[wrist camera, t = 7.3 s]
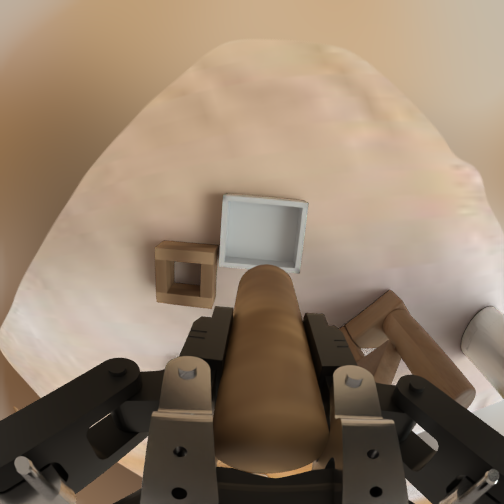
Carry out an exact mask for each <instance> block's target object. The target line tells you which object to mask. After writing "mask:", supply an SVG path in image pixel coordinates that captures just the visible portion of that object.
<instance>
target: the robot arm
mask: <svg viewBox="0 0 504 504" xmlns="http://www.w3.org/2000/svg"><path fill="white" fill-rule="evenodd" d="M232 321H233V308H230V307H219V306H215V309H214V312H213V315H212V318H211V317H200V318H199V319H197V320H196V321H195V322H194V323H193V325H192V328H191V331H190V332H189V335H188V337H187V339H186V342H185V344H184V346H183V349H182V351H181V353H180V356H179V357H177V358H174V359H172V360H171V361H169V362H168V363H167V365H166V367H165V369H164V370H161V371H148V372H140V370H139V367H138V365H137V364H136V363H135V362H134V361H132V360H129V359H126V358H113V359H109V360H107V361H105V362H103V363H101V364H99V365H98V366H96V367H94V368H93V369H91V370H89V371H87V372H86V373H84V374H82V375H81V376H79V377H77V378H75V379H74V380H72V381H70V382H69V383H67V384H65V385H63V386H62V387H60V388H58V389H56V390H55V391H53V392H51V393H49V394H48V395H46V396H44V397H42V398H41V399H39V400H37V401H35V402H34V403H32V404H30V405H28V406H26V407H25V408H23V409H21V410H19V411H17V412H16V413H14V414H12V415H10V416H8V417H7V418H5V419H3V420H1V421H0V504H76V496H75V494H76V493H78V492H79V491H80V490H82V489H83V488H84V487H86V486H87V485H88V484H90V483H91V482H92V481H94V480H95V479H96V478H97V477H99V476H100V475H101V474H103V473H104V472H105V471H106V470H107V469H109V468H110V467H111V466H112V465H114V464H115V463H116V462H118V461H119V460H120V459H121V458H122V457H124V456H125V455H126V454H127V453H129V452H130V451H131V450H132V449H133V448H134V447H136V446H137V445H138V444H139V443H140V442H142V441H143V440H144V439H145V438H146V437H147V436H148V441H147V448H146V456H145V463H144V472H143V481H142V488H141V489H139V490H138V491H136V492H134V493H132V494H130V495H129V496H127V497H125V498H123V499H121V500H119V501H118V502H115V503H113V504H414V503H413V502H411V501H409V500H408V493H407V486H406V479H407V480H408V481H409V482H410V483H411V484H412V485H413V486H414V487H415V488H416V489H417V490H418V491H419V492H420V493H422V494H423V495H424V496H425V497H426V498H427V499H428V500H429V501H430V502H431V503H432V504H504V436H502V435H501V434H499V433H498V432H497V431H496V430H494V429H493V428H491V427H490V426H489V425H487V424H486V423H484V422H483V421H482V420H481V419H479V418H478V417H477V416H475V415H474V414H473V413H471V412H470V411H468V410H467V409H466V408H464V407H463V406H462V405H460V404H459V403H458V402H456V401H455V400H454V399H452V398H451V397H450V396H448V395H447V394H445V393H444V392H443V391H441V390H440V389H439V388H437V387H436V386H435V385H433V384H432V383H431V382H429V381H428V380H426V379H425V378H423V377H420V376H417V375H405V376H403V377H401V378H400V379H399V381H398V383H397V385H396V386H395V385H388V384H381V383H377V382H375V380H374V377H373V375H372V374H371V373H370V372H369V371H368V370H366V369H364V368H362V367H359V366H358V365H357V363H356V361H355V358H354V356H353V354H352V352H351V350H350V348H349V345H348V343H347V341H346V339H345V337H344V334H343V332H341V331H340V330H339V329H338V328H337V327H336V326H328V324H327V321H326V319H325V316H324V314H314V313H305V316H304V320H303V324H304V328H305V332H306V336H307V340H308V344H309V348H310V352H311V356H312V360H313V364H314V368H315V372H316V377H317V381H318V385H319V389H320V393H321V398H322V402H323V406H324V411H325V415H326V420H327V424H328V429H329V438H328V441H327V444H326V446H325V448H324V450H323V452H322V454H321V456H320V457H319V458H318V459H317V460H315V461H314V462H313V464H312V471H308V472H304V473H300V474H296V475H291V476H287V477H282V478H269V477H265V476H260V475H256V474H252V473H248V472H245V471H241V470H238V469H234V468H224V467H216V463H215V449H214V434H213V414H214V409H215V404H216V399H217V394H218V389H219V384H220V380H221V377H222V374H223V368H224V363H225V358H226V352H227V347H228V342H229V336H230V331H231V326H232ZM461 349H462V352H463V353H464V354H465V355H466V356H467V358H468V359H469V360H470V361H471V362H472V363H473V364H474V365H475V366H476V368H477V369H478V370H479V371H480V372H481V373H482V374H483V375H484V377H485V378H486V379H487V380H488V381H489V382H490V383H491V385H492V386H493V387H494V388H495V389H496V390H497V392H498V393H499V394H500V395H501V396H502V398H503V399H504V314H503V313H501V312H500V311H499V310H497V309H496V308H494V307H486V308H484V309H483V310H481V311H480V312H479V313H478V314H477V315H476V316H475V317H474V318H473V319H472V321H471V322H470V323H469V325H468V327H467V328H466V330H465V332H464V335H463V338H462V342H461ZM109 413H111V414H109ZM108 414H109V415H108ZM106 415H108V416H107V417H105V416H106ZM103 417H105V418H104V419H102V418H103ZM101 419H102V420H101ZM99 420H101V421H100V422H98V421H99ZM96 422H98V423H97V424H95V423H96ZM416 423H417V424H418V425H419V426H421V427H422V428H423V429H424V430H425V431H426V432H428V433H429V434H430V435H431V436H432V437H434V438H435V439H436V440H437V442H438V445H439V448H438V451H435V450H433V449H432V448H431V447H430V446H429V445H428V444H426V443H425V442H424V441H423V440H422V439H421V438H420V437H418V436H417V435H416V434H415V433H414V432H413V431H412V429H413V428H414V426H415V425H416ZM93 424H95V425H94V426H92V425H93ZM91 426H92V427H91ZM90 427H91V428H90ZM89 428H90V429H89ZM405 478H406V479H405Z"/></svg>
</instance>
